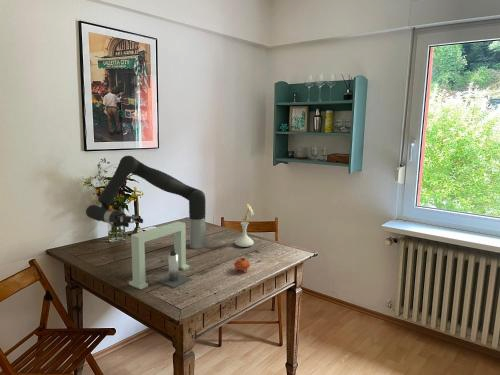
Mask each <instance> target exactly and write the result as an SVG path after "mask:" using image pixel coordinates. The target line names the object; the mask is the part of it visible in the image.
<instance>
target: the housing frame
mask: <svg viewBox="0 0 500 375" xmlns="http://www.w3.org/2000/svg"><path fill="white" fill-rule="evenodd" d="M171 234H173V247H174V248H173V250H176V253H177V254H178V265H179V270H183V271H185V270H187V269H189V268H190V265H189V264H187V257H186V256H187V250H186V247H187V246H186V245H187V244H186V243H187V242H186V241H187V240H186V236H187V234H186V223H185V222H181V221H175V222H172V223H168V224H165V225H161V226H158V227H154V228H151V229H148V230H144V231H140V232H137V233H133V234H131V235H130V237H131V238H130V242H131V266H132V268H131V269H132V280H130V281H128V285H130V286H131V287H134V288H136V289H139V290H143V289H145V288H147V287H149V283H147V282H146V276H147V275H146V253H145V252H146V248H145V243H146V242H150V241H152V240H156V239H159V238H163V237H165V236H168V235H171Z"/></svg>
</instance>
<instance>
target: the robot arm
mask: <svg viewBox="0 0 500 375" xmlns="http://www.w3.org/2000/svg"><path fill="white" fill-rule="evenodd" d="M129 175H134V176H136V177H139V178H141V179H143V180H145V181H146V182H148V183H149V184H151V185H152V186H153V187H156V188H158V189H160V190H162V191H164V192H166V193H169V194H174V195H178V196H179V197H182V198H184V199H186V200H187V201H188V214H189V216H188V217H189V220H188V221H189V222H188V223H189V228H188V229H189V232H188V233H189V235H188V236H189V237H188V238H189V248H191V249H203V248H205V247H207V230H206V195H205V193H204V192H203V191H202V190H201V189H198V188H195V187H192V186H190V185H188V184H186V183H184V182H182V181H180V180H179V179H177V178H176V177H173V175H170V174H167V173H166V172H164V171H161V170H159V169H156V168H153V167H151V166H148V165H146V164H144V163H143V162H141V161H139V160H138V159H136V158H135V157H134V156H132V155H124V156H123V157H122V158H120V160H119V163H118V165H117V167H116V170H115V172H114V174H113V175H112V177H111V178H110V180H109V181H108V183H107V185H105V187H104V189H103V190H102V191H101V193H100V195H99V196H98V198H97V200H98V203H100V204H101V206H98V205H96V204H92V205H89V206H87V208H86V210H85V214H86V216H87V217H88V218H89V219H92V220H95V221H98V222H103V223H107V224H109V225H111V226H112V227H116V228H119V227H125V228H128V227H129V226H130V224H134V223H139V224H143V223H144V218H142V217H141V215H137V214H131V215H127V214H126V213H125V212H123V211H120V210H116V209H110V207H111V204H112V202H113V201H114V199H115V198H116V196H117V195H118V193H119V191H120V188H121V187H122V185H123V183H124V181H125V180H127V178H128V176H129Z"/></svg>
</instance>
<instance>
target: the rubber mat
mask: <svg viewBox="0 0 500 375" xmlns="http://www.w3.org/2000/svg"><path fill="white" fill-rule="evenodd" d="M191 280H192V278H191V277H188V276H185V275H182V274H180V273H179V280H178V281H174V282H172V281H170V280H169V274H168V275H166V276H164V277H162V278H159V279H157V280H156V282H157V283H159V284H163V285H165V286H166V287H171V288H173V289H175V288H177V287H179V286H181V285H184V284H185V283H187V282H189V281H191Z"/></svg>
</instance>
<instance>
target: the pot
mask: <svg viewBox="0 0 500 375" xmlns="http://www.w3.org/2000/svg"><path fill="white" fill-rule="evenodd" d="M233 265H234V268H235V271H236V272H238V271H245V273H247V272H248V270H249V268H250V266H251V262H250V261H249V260H248V259H246V258H245V257H239V258H238V259H237V260H236V261H234V263H233Z"/></svg>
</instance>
